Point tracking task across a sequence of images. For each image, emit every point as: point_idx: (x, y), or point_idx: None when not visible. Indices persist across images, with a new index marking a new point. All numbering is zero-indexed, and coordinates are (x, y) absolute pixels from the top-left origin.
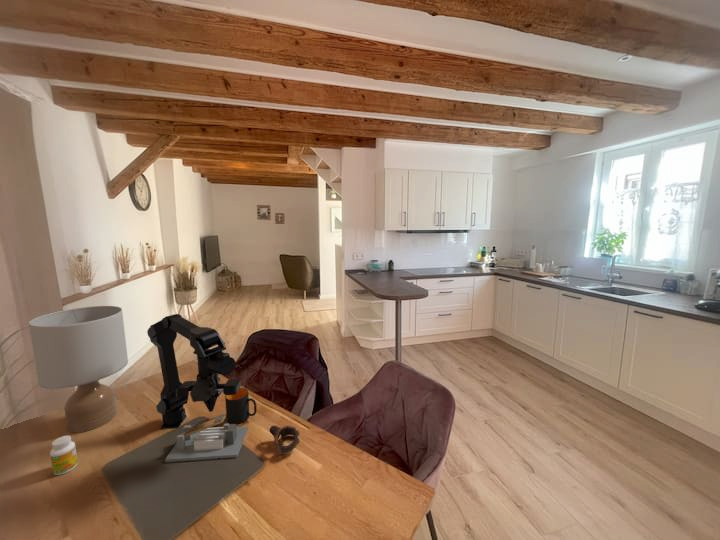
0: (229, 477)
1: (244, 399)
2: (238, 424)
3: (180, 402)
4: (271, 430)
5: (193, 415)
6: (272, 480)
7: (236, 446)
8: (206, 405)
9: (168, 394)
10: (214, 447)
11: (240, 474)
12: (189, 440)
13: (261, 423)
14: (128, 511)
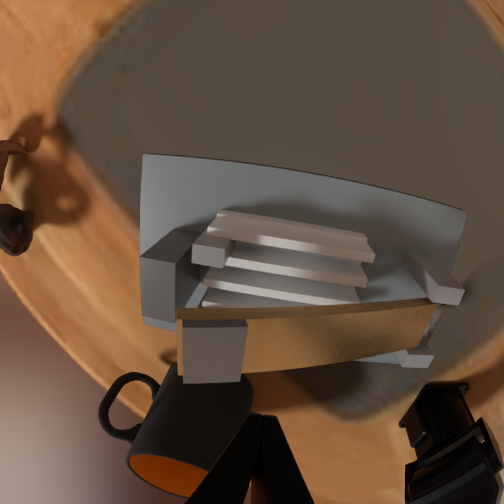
0: (162, 47)
1: (134, 443)
2: None
3: (438, 469)
4: (5, 226)
5: (377, 425)
6: (40, 48)
7: (155, 209)
8: (299, 489)
9: (495, 494)
10: (260, 218)
11: (124, 61)
12: None
13: (110, 331)
14: (483, 23)
